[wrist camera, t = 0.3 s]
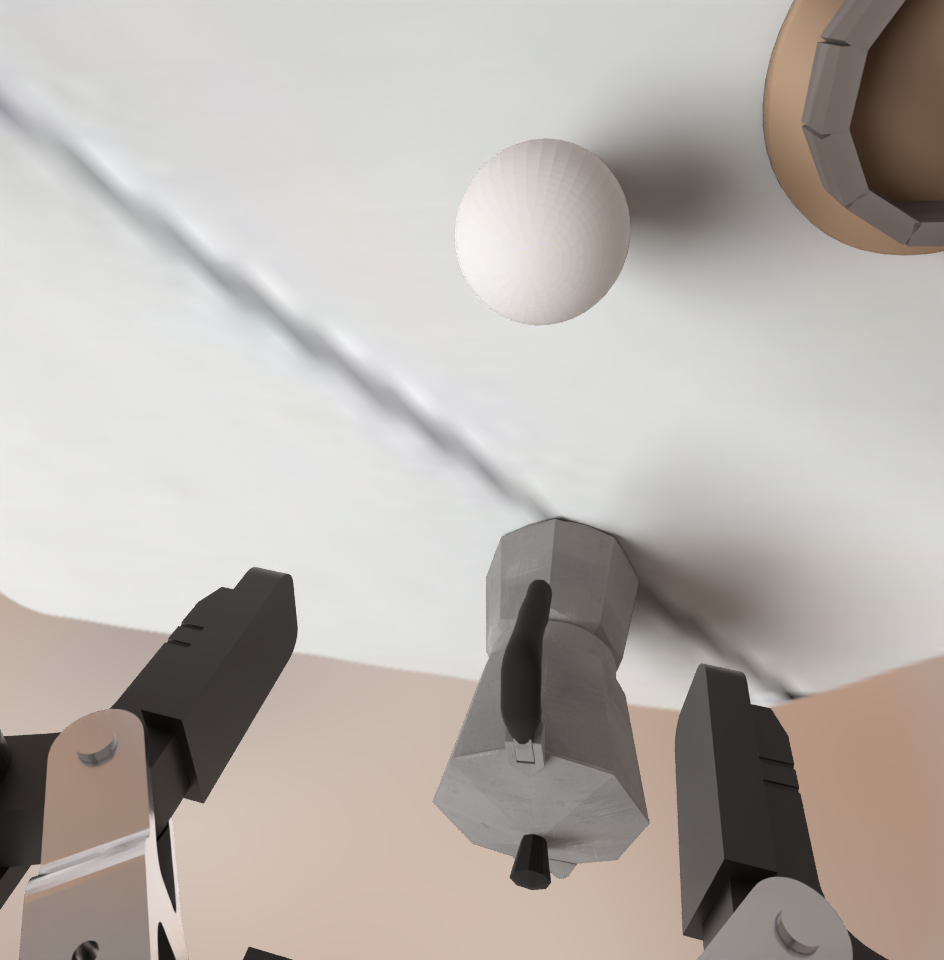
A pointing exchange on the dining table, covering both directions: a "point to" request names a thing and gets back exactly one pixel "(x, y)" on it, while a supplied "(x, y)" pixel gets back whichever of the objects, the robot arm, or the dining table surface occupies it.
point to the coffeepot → (550, 709)
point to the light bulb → (542, 232)
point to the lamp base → (861, 120)
